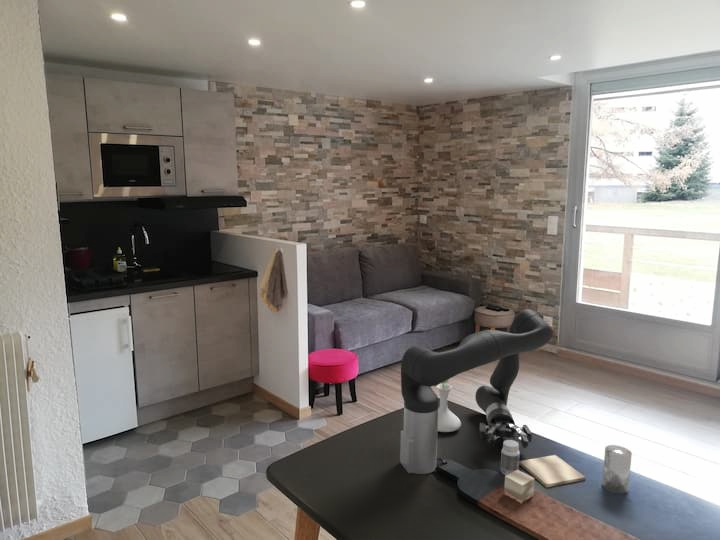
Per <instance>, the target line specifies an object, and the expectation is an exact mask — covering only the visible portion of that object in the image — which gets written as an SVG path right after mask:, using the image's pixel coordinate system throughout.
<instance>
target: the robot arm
mask: <svg viewBox="0 0 720 540" xmlns="http://www.w3.org/2000/svg"><path fill="white" fill-rule="evenodd" d="M509 326H510V327H509V330H508V332H507V331H503V330H502V331H501V330H497V329H496V330H495V329H483V330H479V331H477V332H475V333H471V334H469V335H467V336H465V337H464V338H463V339H462V340H461V342H460V343H459V344H458V346H457V347H454V348H452V349H450V350H446V351H440V352H437V351H432V350H431V349H428V348H426V347H423V346H419V345H413V346H411V347H409V348H408V349H407V350H406V351H405V352H404V353H403V356H402V359H401V362H400V387H401V388H400V391H401V396H402V398H403V430H400V446H399V448H400V449H399V450H400V451H399V453H400V454H399V463H400V464H401V466H402V467H403V469H404V470H405V471H406V472H407V474H417V475H427V474H430V473H432V472H434V471H436V469H437V461H438V460H437V459H438V458H437V455H438V453H437V452H438V432H439V431H438V408H439V397H438V395H437V393H435V391H434V390H433V388H432V387H436V386H435V385H438V384H442V382H444V381H446V380H448V379H449V380H450V379H452V378H454V377H455V376H458V375H460V374H462V373H465V372H467V371H470V370H473V369H475V368H479V367H482V366H485V365H488V364H491V363H493V362H497V361H498V362H497V364H496V366H495V368H494V370H493V372H492V374H491V375H490V378H489V383H490V386H488V385H481V386H479V387H478V388H477V389H476V391H475V397H474V398H475V402H476V404H477V406H478V408H479V409H481V410H482V411H483V412H484V413H485V417H486V421H487V422H486V423H487V424H488V425H486V424H485V423H484V422H479V436H480V440H484V441H485V440H487V441H488V443H489V445H491V447H493V448H495V447H496V440H497V439H498V438H508V439H511V440H514V441H516V442H518V441H519V442H520V443H521V446H522V448H523V449H527V447H529V443H532V441H533V440H532V439H533V432H532V431H531V429H530V427H528V425H527V424H522V426H521V427H520V426H518V425H517V424H516V423H515V420H514V418H513V416H512V414H511V412H510V409H509V408H508V407H507V405H508V399H509V394H510V389H511V387H512V386H513V384H514V382H515V381H516V378H517V377H518V374H519V369H520V354H521V353H525V352H530V351H535V350H537V349H540V348H542V347H544V346H545V345H547V344H548V343H549V342H551V340H552V338H553V336H554V329H552V327H551V325H550V324H549V323H547V322H546V321H545V319H543V318H542V317H541V316H539V315H538V314H537V313H536V312H534V311H533V310H532V309H524V310H522V311H519V313H518V314H516V315H515V317H514V318H513V320H512V322H511V325H509ZM435 468H436V469H435Z"/></svg>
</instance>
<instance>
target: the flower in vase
mask: <svg viewBox="0 0 720 540" xmlns="http://www.w3.org/2000/svg"><path fill="white" fill-rule="evenodd" d="M449 381H450V379H448V380H446V381H444V382H442V383H440V384H438V385H435V386H434V387H436V389H437V390H438V393H439V406H438V431H437V432H440V433H450V432H455V431H458V430H459V429H460V427H461V426H462V422H461V420H460V419H459V417H458V416H457V415H456V414H454V413H453V412H452V411H451V410H450V408H448V398H449V393H450V391H451V390H452V389H453V386H452V385H451V384H448V383H449Z"/></svg>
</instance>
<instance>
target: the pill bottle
mask: <svg viewBox="0 0 720 540" xmlns="http://www.w3.org/2000/svg"><path fill="white" fill-rule="evenodd" d="M519 449H520V445H519V442H518V441H515V440H513V439H506V440H504V441H503V443H502V449H501V451H500V452H501V455H500V457H501V458H500V472H501V474H502V475H505V476H506V475H508V474H510V473H512V472H514V471H516V470H519V471H520V464H519V461H520V455H521V452H520V450H519Z"/></svg>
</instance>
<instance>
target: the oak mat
mask: <svg viewBox="0 0 720 540" xmlns="http://www.w3.org/2000/svg"><path fill="white" fill-rule="evenodd" d="M519 466H521V468H523V469H524V470H526V471H527V473H529V475H530V476H532V477H533V478H535V479H536V480H537V481H538V482H539V483H541V484H542V485H543V486H545V487H546V488H550V487H554V486H560V485H566V484H570V483H575V482H581V481H585V480H586V476H585V475H583V474H582V473H581V472H579V471H578V470H577V469H575V468H574V467H573V466H571V465H570V464H568V463H566V461H564V460H563V459H562V458H560V457H559V456H557V455H556V454H553V455H546V456H541V457H535V458H529V459H525V460H524V459H523V460H519Z"/></svg>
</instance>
